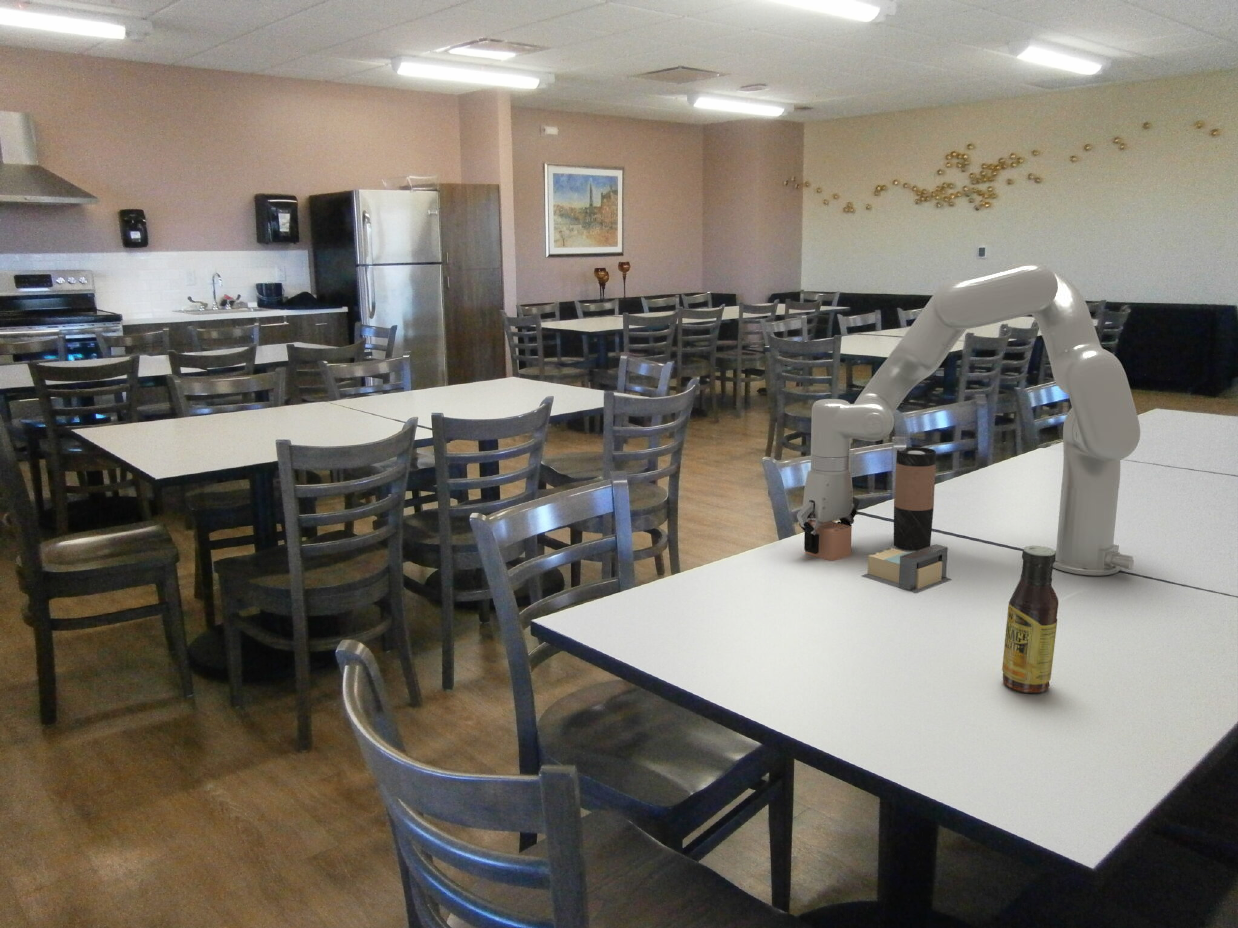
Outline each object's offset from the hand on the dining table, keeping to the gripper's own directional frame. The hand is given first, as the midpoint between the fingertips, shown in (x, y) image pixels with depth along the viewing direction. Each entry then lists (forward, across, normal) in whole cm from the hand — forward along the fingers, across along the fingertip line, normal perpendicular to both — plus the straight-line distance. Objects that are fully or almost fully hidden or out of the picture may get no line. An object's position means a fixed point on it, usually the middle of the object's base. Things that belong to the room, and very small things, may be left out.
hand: (827, 547), depth 187 cm
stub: (+2, 0, 0) cm, 2 cm away
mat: (+2, 0, +18) cm, 19 cm away
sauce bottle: (+2, +24, +56) cm, 60 cm away
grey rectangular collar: (+1, 0, +22) cm, 22 cm away
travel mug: (+2, -17, +8) cm, 19 cm away
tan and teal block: (+1, 0, +18) cm, 18 cm away
